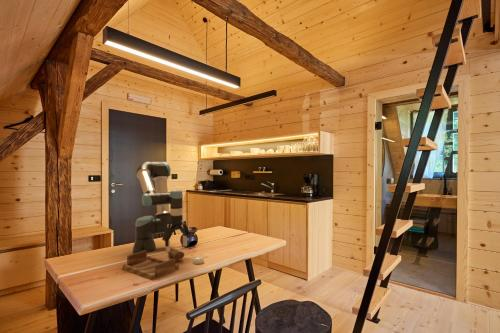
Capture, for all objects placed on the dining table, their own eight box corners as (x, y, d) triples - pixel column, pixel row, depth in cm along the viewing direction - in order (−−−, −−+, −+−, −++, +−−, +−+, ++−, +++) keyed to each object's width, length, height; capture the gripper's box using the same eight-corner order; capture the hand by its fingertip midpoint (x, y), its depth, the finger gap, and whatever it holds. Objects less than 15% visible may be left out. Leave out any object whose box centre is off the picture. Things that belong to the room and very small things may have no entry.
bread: (175, 263, 161) (173, 254, 160) (167, 255, 177) (165, 247, 176) (185, 258, 164) (183, 250, 164) (176, 251, 180) (174, 243, 180)
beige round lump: (190, 263, 162) (190, 258, 162) (198, 260, 168) (198, 255, 168) (198, 265, 159) (198, 260, 159) (205, 262, 164) (205, 257, 164)
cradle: (122, 269, 152) (122, 257, 152) (149, 260, 167) (149, 248, 167) (152, 280, 137) (152, 267, 137) (179, 269, 153) (179, 257, 152)
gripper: (164, 218, 156) (164, 255, 155) (195, 212, 176) (195, 244, 176) (155, 217, 160) (156, 252, 159) (187, 211, 181) (187, 243, 180)
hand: (176, 248), depth 168 cm, fingers open, 13 cm apart
